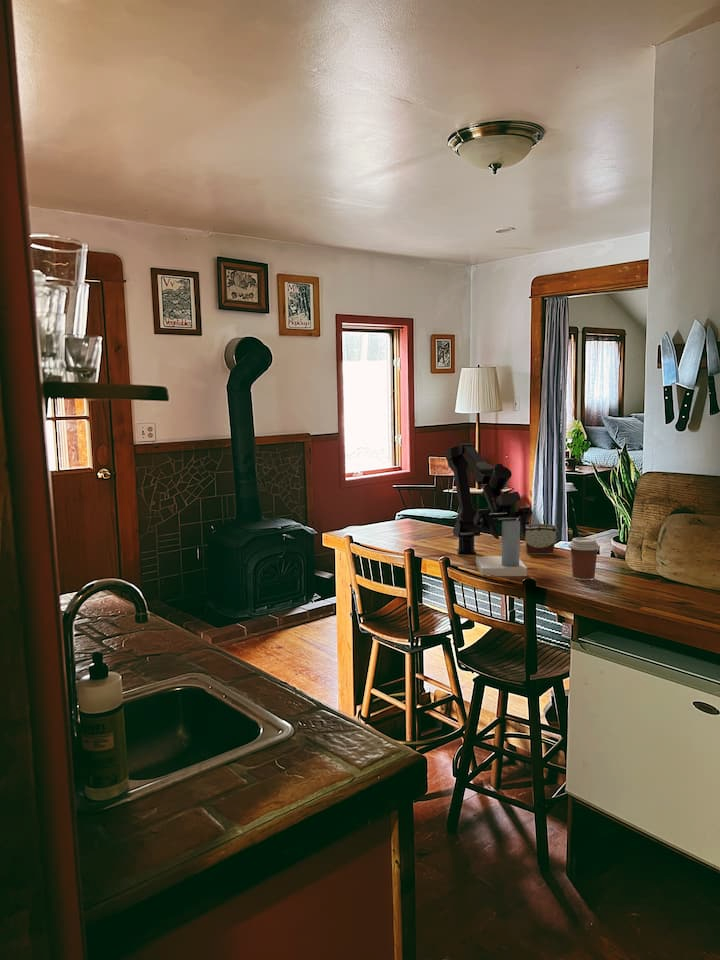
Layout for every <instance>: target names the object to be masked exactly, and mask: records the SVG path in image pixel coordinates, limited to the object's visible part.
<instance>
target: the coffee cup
mask: <svg viewBox="0 0 720 960" xmlns="http://www.w3.org/2000/svg"><path fill="white" fill-rule="evenodd" d="M568 548H569V549H570V559H571V570H572V572H571V573H572V579H573V578H574V579H573V580H575V579H577V580H576V581H580V580H591V579H594V578H595V576H596V567H597V557H598V550H600V549H601V548H600V544H598V542H597V540H596V539H595V538H592V537H574V538H572V539H571V542H570V543H568ZM594 580H595V579H594ZM591 581H592V580H591Z"/></svg>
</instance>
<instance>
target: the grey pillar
mask: <svg viewBox="0 0 720 960" xmlns="http://www.w3.org/2000/svg"><path fill="white" fill-rule="evenodd" d="M520 550H521V533H520V521H518V520H514V519H502V521H501V556H502V558H501V565H503V566H508V567H516V566H519V559H520V557H521V556H520V553H521V551H520ZM520 560H521V559H520Z"/></svg>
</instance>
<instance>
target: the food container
mask: <svg viewBox="0 0 720 960" xmlns="http://www.w3.org/2000/svg"><path fill="white" fill-rule="evenodd" d="M525 528H526V536H525V537H524V539H525V549H526V550H525V552H526V555H550V554H549V553H554V551H555V544H556V536H557V533H559V530H558V527H557V525H554V524H548V523H547V524H545V523H531V524H526V525H525Z"/></svg>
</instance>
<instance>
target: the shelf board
mask: <svg viewBox="0 0 720 960" xmlns="http://www.w3.org/2000/svg"><path fill="white" fill-rule="evenodd" d="M501 558H502V555H500V556H499V555H497V556H495V555H494V556H489V555H488V556H487V555H485V556H480V555H479V556H477V555H476V556H475V565H476V567H477V569H478V571H479V574H480V573H481V574H482V575H493V576H492V577H527V576H528V567H527V566H526V565H525V564H524V562H523V561H522V560H521V559H519V566H516V567H508V566H503V565H501ZM481 574H480V575H481Z"/></svg>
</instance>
